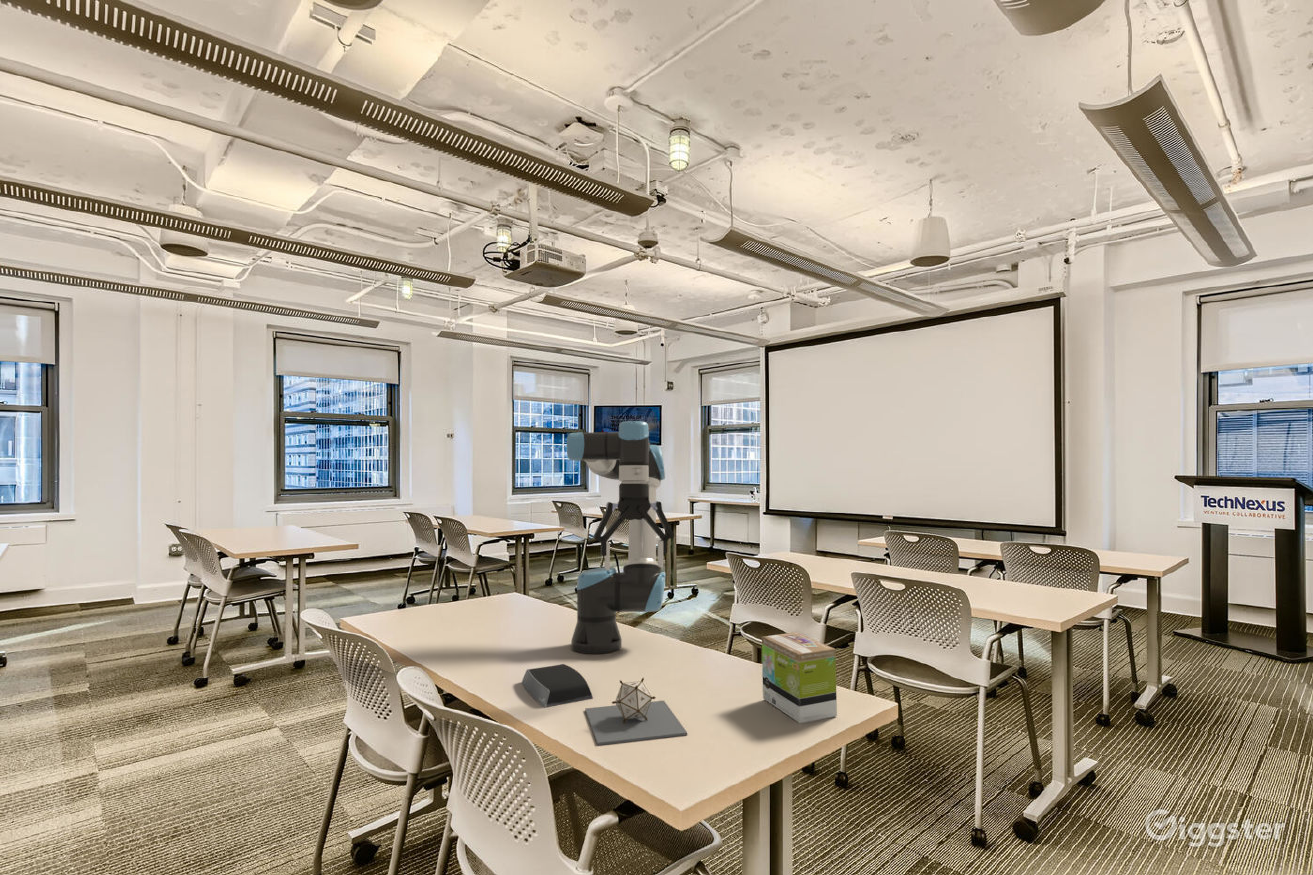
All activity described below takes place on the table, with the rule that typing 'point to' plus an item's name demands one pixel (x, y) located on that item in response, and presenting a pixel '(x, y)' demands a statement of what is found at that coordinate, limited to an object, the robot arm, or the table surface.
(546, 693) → the external hard drive
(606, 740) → the mat
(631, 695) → the game die
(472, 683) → the table surface
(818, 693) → the tea box
